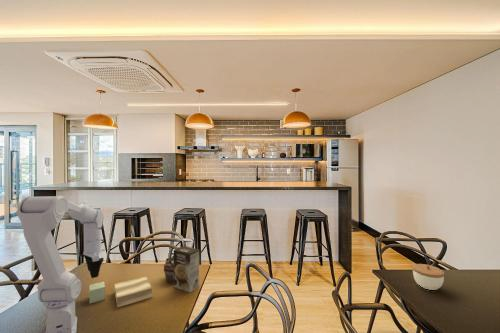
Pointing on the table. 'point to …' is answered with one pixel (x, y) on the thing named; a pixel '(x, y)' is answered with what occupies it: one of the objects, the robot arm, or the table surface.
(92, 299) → the sage cube
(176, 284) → the coffee box
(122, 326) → the table surface
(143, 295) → the birch block
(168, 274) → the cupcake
